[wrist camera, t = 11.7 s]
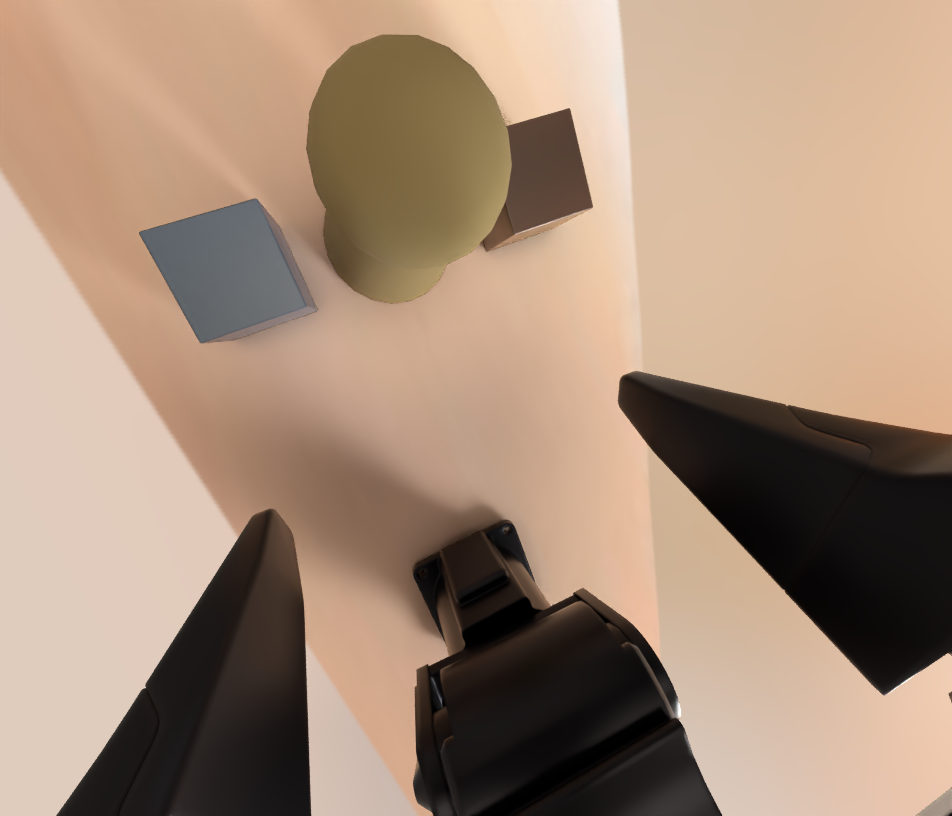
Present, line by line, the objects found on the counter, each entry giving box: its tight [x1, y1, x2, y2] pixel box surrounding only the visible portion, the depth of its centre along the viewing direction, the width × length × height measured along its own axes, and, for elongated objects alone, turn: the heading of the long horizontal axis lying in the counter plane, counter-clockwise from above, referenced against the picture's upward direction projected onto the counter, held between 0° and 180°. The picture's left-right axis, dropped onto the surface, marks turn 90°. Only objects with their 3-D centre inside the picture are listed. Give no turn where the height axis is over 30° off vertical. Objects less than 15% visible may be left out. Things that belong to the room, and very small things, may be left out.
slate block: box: [139, 199, 317, 343], centre depth 16 cm, size 4×4×4 cm
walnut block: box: [483, 108, 593, 251], centre depth 18 cm, size 4×4×4 cm
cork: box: [306, 35, 512, 303], centre depth 14 cm, size 6×6×11 cm
